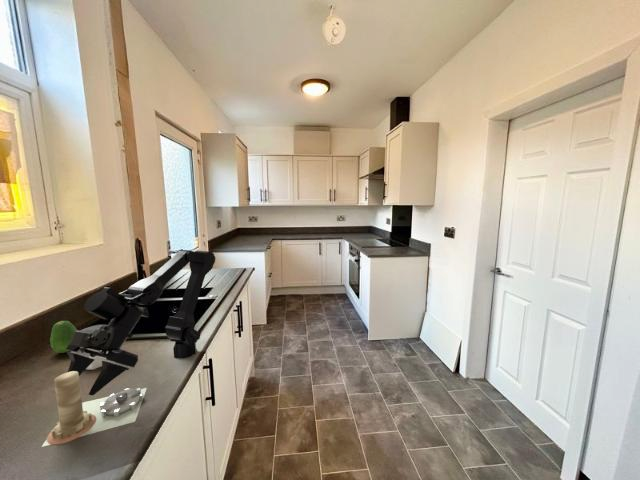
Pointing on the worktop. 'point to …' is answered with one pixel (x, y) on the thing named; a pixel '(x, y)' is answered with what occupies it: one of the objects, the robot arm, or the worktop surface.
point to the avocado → (62, 336)
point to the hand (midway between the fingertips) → (77, 390)
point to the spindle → (69, 407)
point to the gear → (121, 402)
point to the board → (98, 420)
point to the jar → (98, 359)
